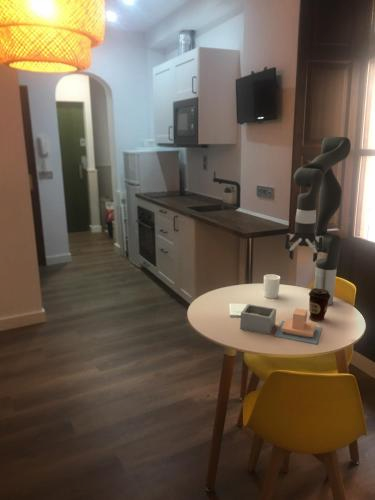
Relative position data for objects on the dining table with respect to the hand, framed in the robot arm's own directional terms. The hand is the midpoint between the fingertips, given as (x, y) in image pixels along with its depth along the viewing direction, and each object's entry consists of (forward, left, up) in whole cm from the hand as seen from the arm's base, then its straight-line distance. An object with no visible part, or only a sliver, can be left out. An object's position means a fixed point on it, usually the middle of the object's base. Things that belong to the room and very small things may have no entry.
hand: (302, 260), depth 164 cm
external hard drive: (-2, -26, -28) cm, 38 cm away
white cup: (-26, -17, -28) cm, 42 cm away
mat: (+8, +2, -28) cm, 29 cm away
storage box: (+10, -14, -28) cm, 33 cm away
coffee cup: (-8, +7, -28) cm, 30 cm away
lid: (+8, +2, -27) cm, 28 cm away
